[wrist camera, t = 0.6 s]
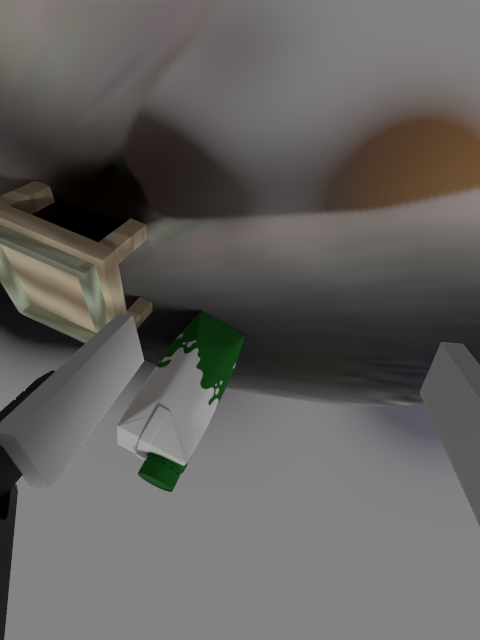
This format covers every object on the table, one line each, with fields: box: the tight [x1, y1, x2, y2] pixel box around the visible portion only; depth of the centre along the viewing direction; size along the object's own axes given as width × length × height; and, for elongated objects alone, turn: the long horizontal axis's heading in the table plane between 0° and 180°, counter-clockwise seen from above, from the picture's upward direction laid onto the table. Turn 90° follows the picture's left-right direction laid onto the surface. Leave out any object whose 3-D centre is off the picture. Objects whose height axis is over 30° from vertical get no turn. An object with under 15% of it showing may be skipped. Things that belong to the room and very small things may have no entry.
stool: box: [0, 181, 153, 343], centre depth 36 cm, size 16×16×10 cm
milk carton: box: [117, 311, 245, 492], centre depth 36 cm, size 9×9×20 cm
